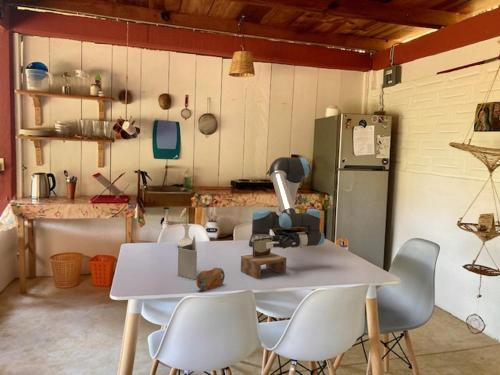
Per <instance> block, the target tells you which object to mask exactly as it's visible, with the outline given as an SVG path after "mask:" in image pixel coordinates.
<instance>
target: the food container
mask: <svg viewBox="0 0 500 375" xmlns="http://www.w3.org/2000/svg"><path fill="white" fill-rule="evenodd" d="M270 235H271V234H270ZM270 235H263V234H258V235H254V236H253V237H252V239H251V241H252V246H253V247H252V254H253V257H254V258H256V257H263V256H270V252H271V251H272V248H266V243H269V242H272V240H273V236H270Z"/></svg>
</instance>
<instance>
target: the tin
mask: <svg viewBox="0 0 500 375" xmlns="http://www.w3.org/2000/svg"><path fill="white" fill-rule="evenodd" d="M225 276H226V275H225V271H224V270H223V268H220V267H213V268H208V269H205V270H202V271H201V272H198V275H196V286H197V288H198V289H200V290H202V291H210V290H211V289H215V288H218V287H220V286H221V285H222V284H223V283H224V280H225Z"/></svg>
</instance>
